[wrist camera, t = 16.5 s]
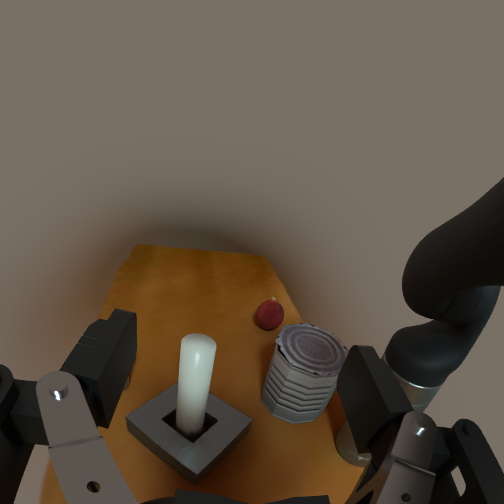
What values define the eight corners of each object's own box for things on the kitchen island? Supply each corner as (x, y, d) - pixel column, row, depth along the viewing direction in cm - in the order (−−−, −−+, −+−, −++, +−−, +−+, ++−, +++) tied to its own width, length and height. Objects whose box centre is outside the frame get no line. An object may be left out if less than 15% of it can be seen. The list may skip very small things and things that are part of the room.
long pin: (187, 420, 38) (197, 329, 32) (206, 434, 37) (223, 345, 31) (170, 433, 35) (174, 342, 29) (190, 449, 34) (200, 360, 28)
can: (299, 370, 54) (319, 318, 50) (338, 410, 45) (366, 357, 41) (247, 385, 48) (262, 329, 44) (284, 433, 39) (309, 379, 35)
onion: (280, 325, 68) (288, 294, 65) (278, 339, 62) (288, 307, 60) (254, 319, 68) (262, 288, 65) (251, 333, 63) (259, 300, 60)
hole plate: (184, 391, 44) (185, 376, 42) (248, 433, 38) (252, 419, 37) (127, 430, 34) (125, 416, 32) (195, 485, 28) (197, 474, 27)
